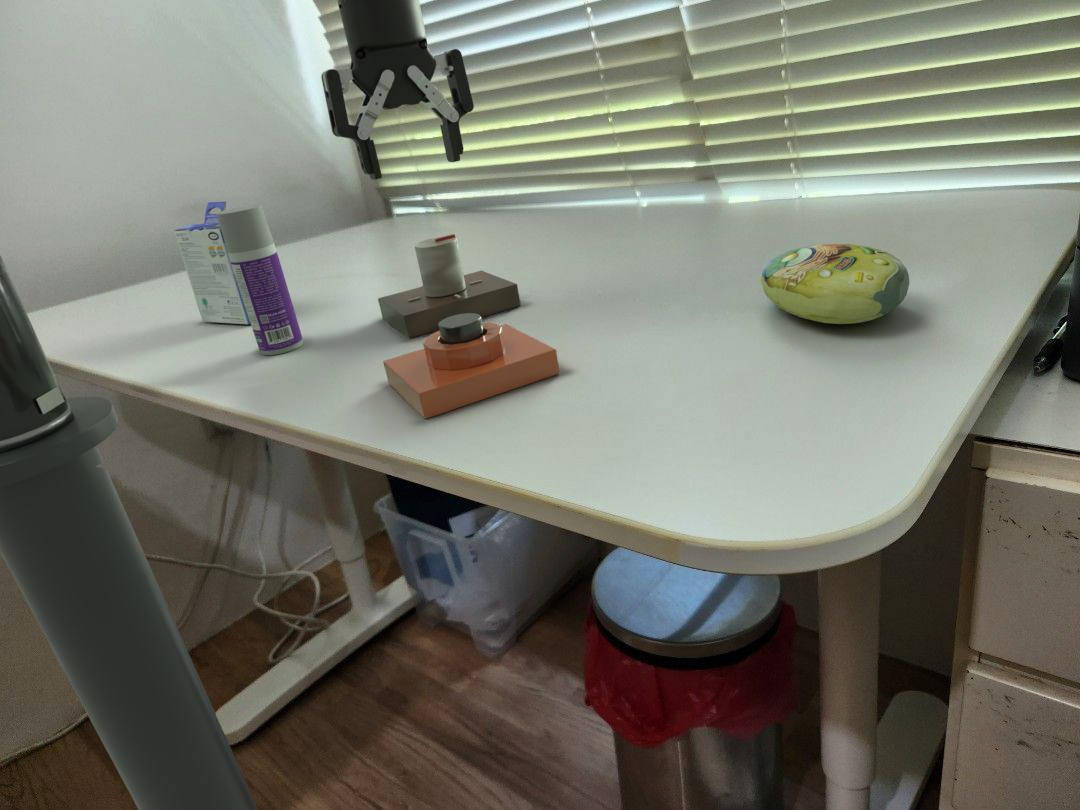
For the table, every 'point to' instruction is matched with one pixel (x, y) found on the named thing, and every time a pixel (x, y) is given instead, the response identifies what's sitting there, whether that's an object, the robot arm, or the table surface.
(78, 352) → the table surface
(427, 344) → the button housing
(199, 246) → the ink cartridge box
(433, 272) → the dial
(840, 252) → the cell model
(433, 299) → the dial panel
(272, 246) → the container
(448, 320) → the button
